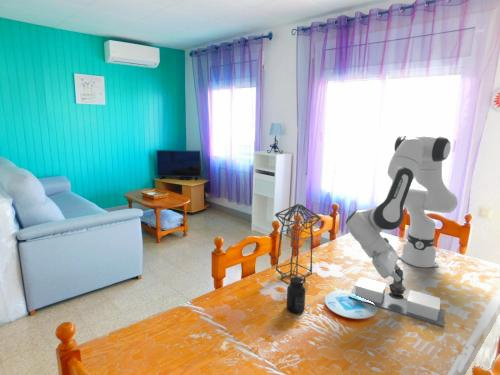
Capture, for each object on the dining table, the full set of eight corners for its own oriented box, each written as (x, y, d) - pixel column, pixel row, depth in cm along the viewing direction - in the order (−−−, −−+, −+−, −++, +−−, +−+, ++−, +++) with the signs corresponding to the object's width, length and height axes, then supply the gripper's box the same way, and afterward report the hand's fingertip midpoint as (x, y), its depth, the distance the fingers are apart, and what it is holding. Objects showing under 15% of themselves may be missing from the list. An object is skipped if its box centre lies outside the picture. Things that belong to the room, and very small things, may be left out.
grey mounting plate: (355, 285, 137) (357, 274, 136) (443, 310, 120) (445, 298, 119) (348, 297, 127) (349, 285, 126) (443, 327, 110) (445, 313, 109)
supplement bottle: (305, 306, 120) (307, 277, 118) (302, 316, 114) (304, 286, 111) (288, 302, 122) (289, 274, 120) (284, 312, 116) (285, 282, 114)
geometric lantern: (268, 278, 141) (272, 202, 135) (293, 269, 151) (298, 198, 145) (293, 292, 129) (299, 210, 123) (318, 283, 139) (325, 205, 133)
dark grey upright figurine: (406, 300, 120) (410, 271, 117) (390, 298, 121) (393, 269, 118) (402, 292, 125) (405, 264, 123) (386, 291, 126) (389, 263, 124)
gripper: (377, 252, 114) (403, 285, 111) (387, 236, 131) (410, 264, 128) (363, 261, 117) (388, 292, 114) (374, 244, 134) (396, 271, 131)
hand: (400, 277), depth 121 cm, fingers closed on dark grey upright figurine, 3 cm apart
